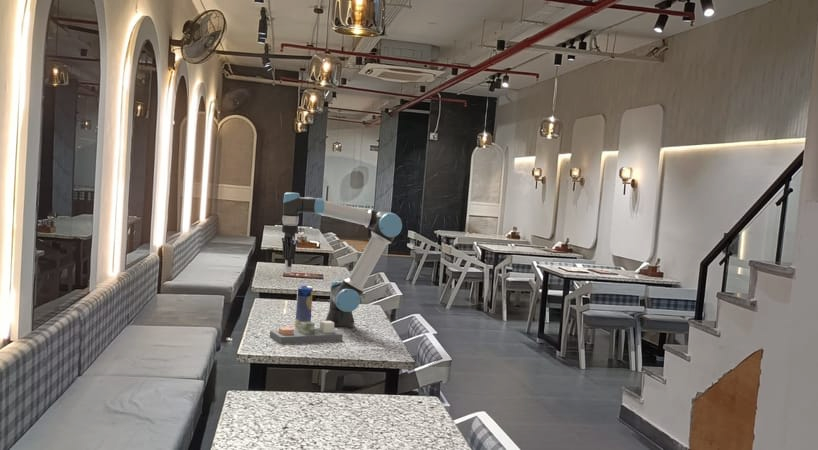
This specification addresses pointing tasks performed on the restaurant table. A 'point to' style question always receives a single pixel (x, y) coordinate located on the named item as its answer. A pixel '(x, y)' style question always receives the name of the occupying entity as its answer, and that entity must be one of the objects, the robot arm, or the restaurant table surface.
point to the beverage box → (303, 305)
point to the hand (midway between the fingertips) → (288, 273)
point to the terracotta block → (286, 331)
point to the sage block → (307, 327)
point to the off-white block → (326, 326)
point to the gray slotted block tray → (305, 337)
